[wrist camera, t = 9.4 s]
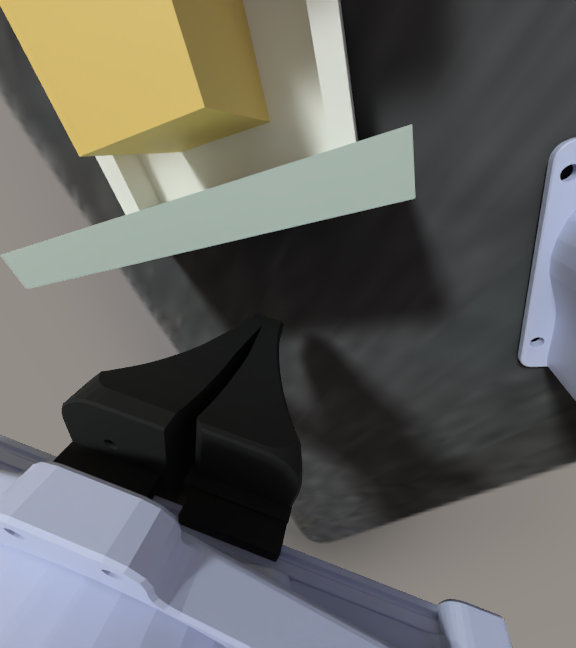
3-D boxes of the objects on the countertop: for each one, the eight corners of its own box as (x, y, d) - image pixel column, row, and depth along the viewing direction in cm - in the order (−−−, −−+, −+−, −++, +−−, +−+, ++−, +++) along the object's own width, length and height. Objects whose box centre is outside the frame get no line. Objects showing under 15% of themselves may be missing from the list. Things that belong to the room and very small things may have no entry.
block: (270, 122, 10) (204, 106, 6) (181, 152, 12) (79, 156, 8) (234, -37, 8) (106, -209, 4) (133, 20, 10) (-40, -70, 6)
